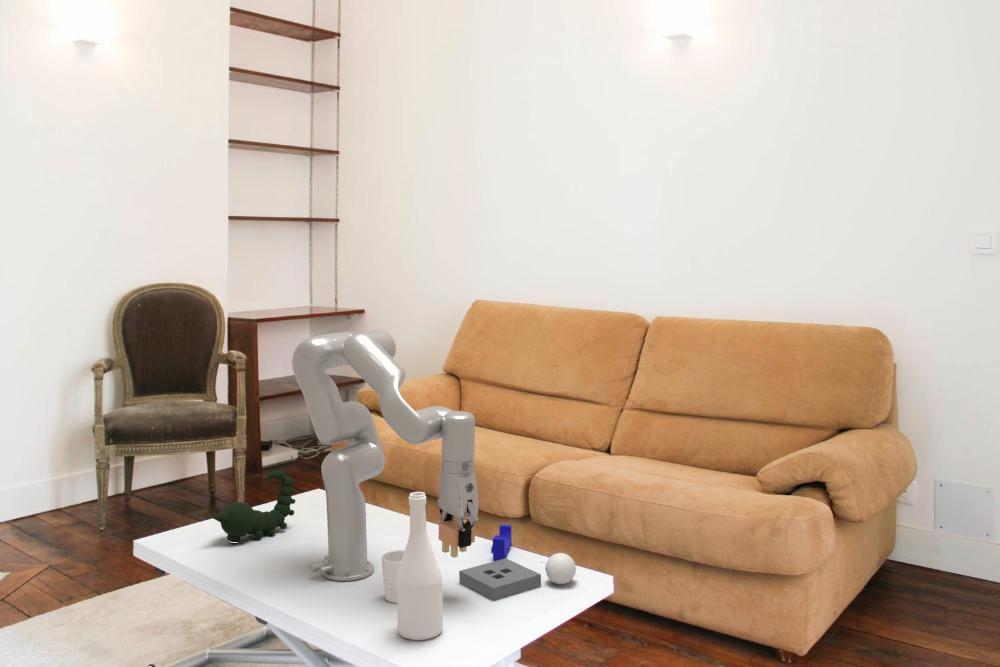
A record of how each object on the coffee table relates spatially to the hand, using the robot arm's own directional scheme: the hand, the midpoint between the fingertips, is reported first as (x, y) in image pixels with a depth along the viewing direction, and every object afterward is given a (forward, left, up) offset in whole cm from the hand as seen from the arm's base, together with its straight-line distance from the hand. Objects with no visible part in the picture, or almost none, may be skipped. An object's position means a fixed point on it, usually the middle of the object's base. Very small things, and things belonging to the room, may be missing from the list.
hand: (456, 541), depth 211 cm
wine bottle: (-17, -11, -14) cm, 24 cm away
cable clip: (+25, +18, -14) cm, 34 cm away
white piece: (+24, -7, -14) cm, 29 cm away
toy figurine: (-21, +71, -14) cm, 75 cm away
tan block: (0, 0, -3) cm, 3 cm away
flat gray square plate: (+12, 0, -13) cm, 18 cm away
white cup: (-11, +8, -14) cm, 19 cm away
